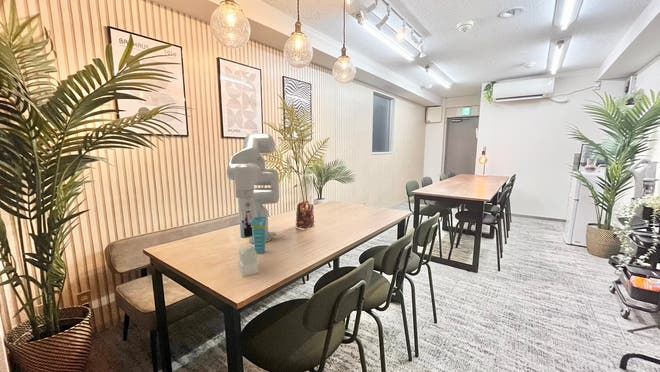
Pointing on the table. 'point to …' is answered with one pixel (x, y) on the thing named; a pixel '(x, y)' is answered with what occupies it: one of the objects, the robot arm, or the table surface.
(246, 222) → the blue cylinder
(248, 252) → the block top
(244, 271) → the block base
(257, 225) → the tube
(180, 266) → the table surface
